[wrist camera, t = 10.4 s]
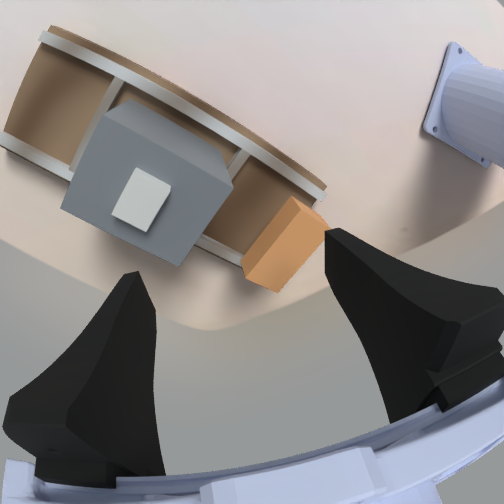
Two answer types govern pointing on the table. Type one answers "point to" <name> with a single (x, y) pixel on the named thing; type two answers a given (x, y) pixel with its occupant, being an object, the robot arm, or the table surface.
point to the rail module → (148, 182)
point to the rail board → (164, 103)
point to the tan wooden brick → (284, 245)
